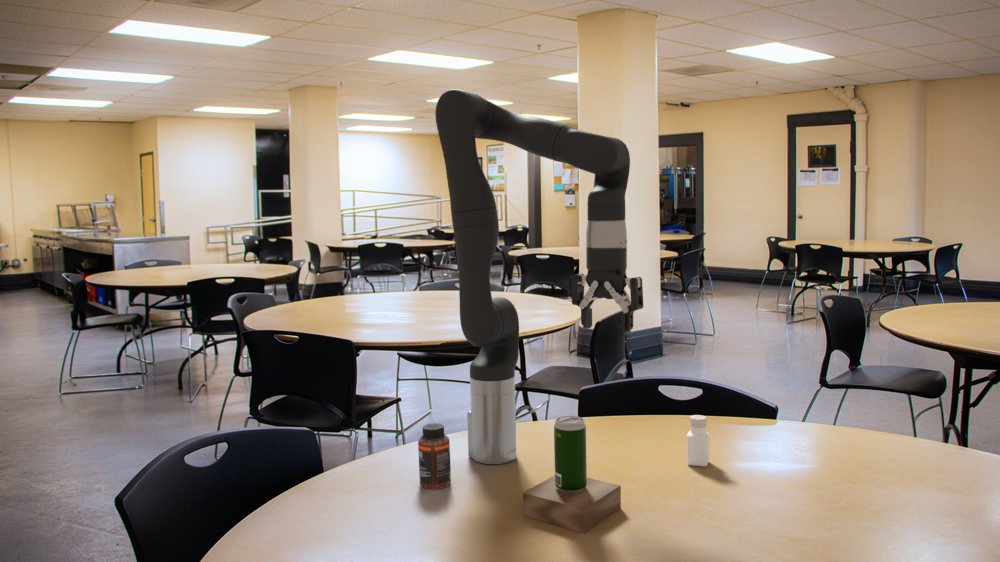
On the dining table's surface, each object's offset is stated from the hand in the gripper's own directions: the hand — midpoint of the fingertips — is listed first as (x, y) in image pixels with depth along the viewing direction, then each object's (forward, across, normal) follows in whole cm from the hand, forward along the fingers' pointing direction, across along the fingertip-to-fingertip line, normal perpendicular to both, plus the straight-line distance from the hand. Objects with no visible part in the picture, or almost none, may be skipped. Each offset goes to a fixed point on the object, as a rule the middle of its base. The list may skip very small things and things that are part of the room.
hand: (606, 330), depth 143 cm
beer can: (+24, +4, -19) cm, 31 cm away
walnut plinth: (+28, +5, -19) cm, 34 cm away
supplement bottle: (+28, -23, -24) cm, 44 cm away
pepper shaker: (+28, +12, +15) cm, 34 cm away
